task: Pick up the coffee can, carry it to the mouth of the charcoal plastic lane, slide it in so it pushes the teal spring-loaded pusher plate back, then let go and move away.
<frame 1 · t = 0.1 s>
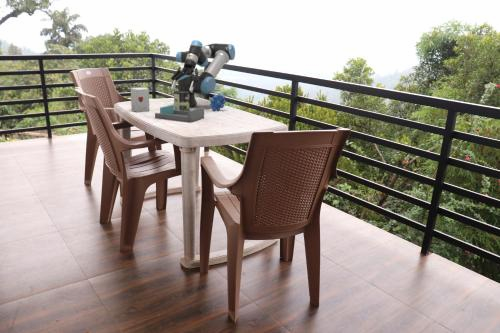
hand: (181, 90, 264), 15 cm above the table, tool tilted 35°, fingers open, 13 cm apart
grapes: (217, 110, 286), on the table
coffee can: (181, 113, 273), on the table
supplement box: (140, 111, 275), on the table
lane: (179, 118, 255), on the table
pusher: (167, 110, 257), point 4 cm above the table, slide at 0.0 cm
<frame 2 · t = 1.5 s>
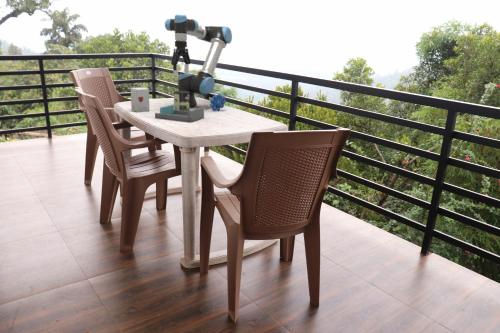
hand: (181, 75, 266), 25 cm above the table, tool pointing down, fingers open, 13 cm apart
nothing on the table moved.
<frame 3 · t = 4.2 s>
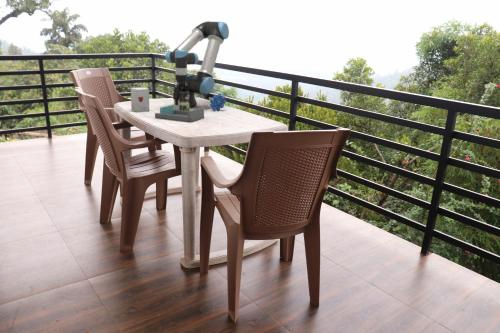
hand: (181, 108, 272), 3 cm above the table, tool pointing down, fingers closed on coffee can, 10 cm apart
coffee can: (181, 113, 273), on the table, touching gripper
everything else where it was.
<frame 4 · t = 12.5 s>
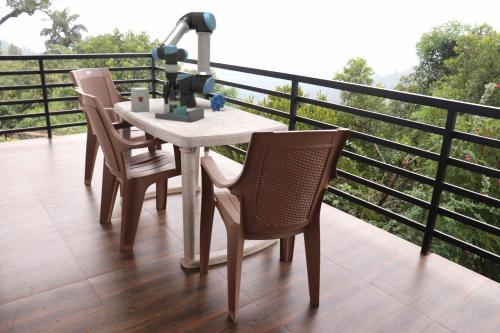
hand: (172, 108, 256), 6 cm above the table, tool pointing down, fingers closed on coffee can, 10 cm apart
coffee can: (172, 112, 256), point 3 cm above the table, touching gripper, pusher
pusher: (180, 112, 254), point 4 cm above the table, slide at 9.6 cm, touching coffee can
everything else where it was.
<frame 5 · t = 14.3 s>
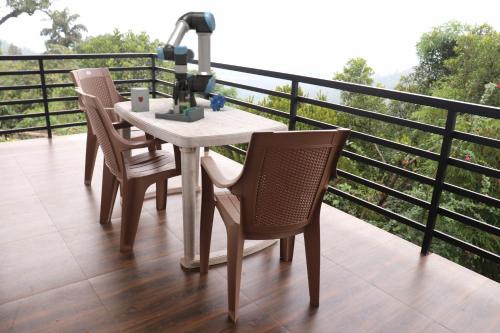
hand: (181, 109, 253), 6 cm above the table, tool pointing down, fingers closed on coffee can, 10 cm apart
coffee can: (181, 113, 254), point 3 cm above the table, touching gripper, pusher
pusher: (189, 113, 252), point 4 cm above the table, slide at 16.4 cm, touching coffee can
everything else where it was.
when the fingers open (6 cm above the table, at t = 15.5 s): coffee can drops 2 cm, resting on lane, pusher.
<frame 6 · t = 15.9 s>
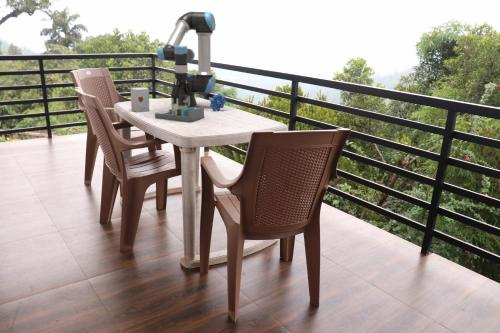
hand: (181, 107, 253), 7 cm above the table, tool pointing down, fingers open, 13 cm apart
coffee can: (179, 117, 255), resting on lane, pusher
pusher: (188, 113, 252), point 4 cm above the table, slide at 15.0 cm, touching coffee can
everything else where it was.
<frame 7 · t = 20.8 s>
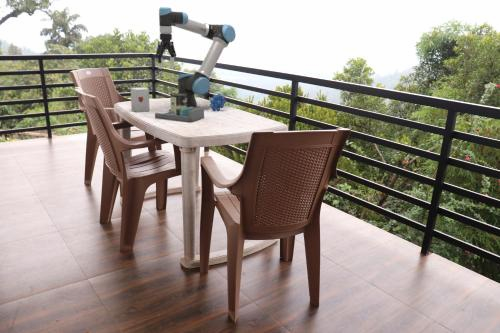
hand: (166, 68, 265), 29 cm above the table, tool pointing down, fingers open, 13 cm apart
pusher: (187, 113, 252), point 4 cm above the table, slide at 14.4 cm, touching coffee can
everything else where it was.
at the end: coffee can inside the target area on the lane (1.3 cm from its centre), point 0.4 cm above the lane's base; pusher slide at 14.4 cm; coffee can tilted 0° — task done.
